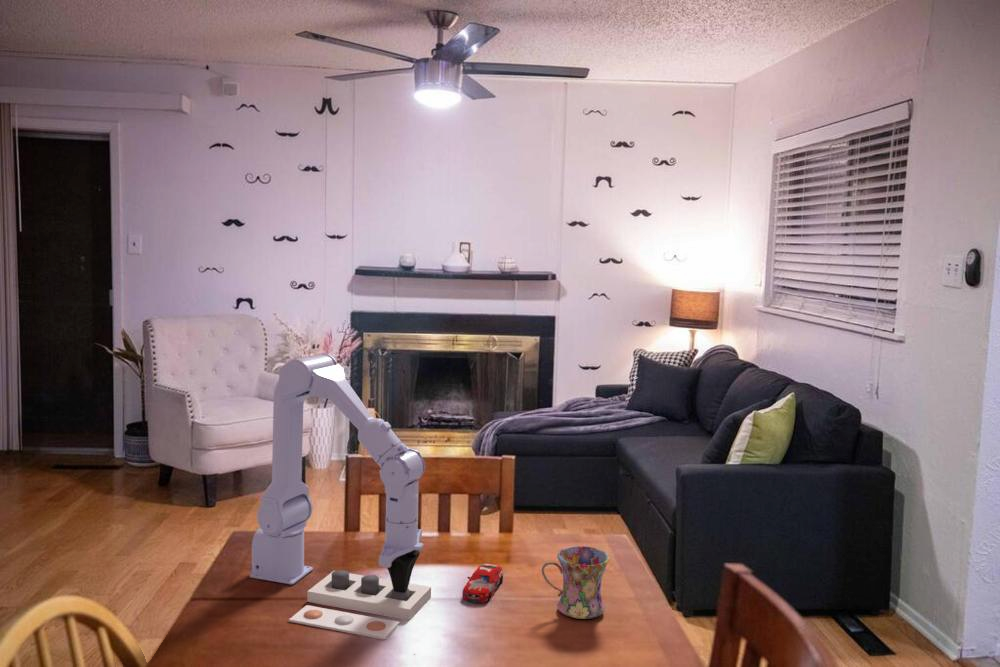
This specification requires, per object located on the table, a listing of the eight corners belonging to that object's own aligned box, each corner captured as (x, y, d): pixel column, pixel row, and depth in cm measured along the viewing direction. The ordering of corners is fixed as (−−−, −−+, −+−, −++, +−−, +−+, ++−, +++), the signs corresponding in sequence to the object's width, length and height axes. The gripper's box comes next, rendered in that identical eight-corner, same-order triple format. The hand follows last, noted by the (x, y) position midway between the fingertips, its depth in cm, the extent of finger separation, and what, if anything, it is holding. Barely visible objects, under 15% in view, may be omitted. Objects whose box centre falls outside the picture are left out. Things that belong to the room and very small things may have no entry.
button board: (307, 601, 160) (307, 591, 160) (333, 580, 170) (333, 570, 169) (409, 620, 154) (409, 609, 154) (430, 597, 164) (431, 586, 163)
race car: (486, 608, 161) (486, 587, 160) (458, 603, 162) (458, 582, 162) (507, 580, 173) (507, 560, 173) (481, 575, 175) (481, 556, 174)
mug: (602, 600, 165) (605, 546, 163) (610, 624, 155) (613, 566, 154) (537, 599, 164) (540, 545, 163) (542, 622, 155) (544, 565, 154)
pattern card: (288, 621, 152) (288, 618, 152) (306, 607, 158) (306, 603, 158) (384, 639, 147) (384, 636, 147) (399, 624, 153) (399, 620, 152)
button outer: (388, 605, 159) (388, 592, 159) (395, 598, 162) (395, 585, 162) (404, 608, 158) (404, 595, 158) (411, 601, 161) (411, 588, 161)
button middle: (358, 593, 161) (358, 580, 160) (365, 586, 164) (366, 574, 163) (374, 596, 160) (374, 583, 159) (381, 589, 163) (381, 576, 162)
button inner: (328, 588, 162) (328, 575, 162) (336, 581, 165) (336, 569, 165) (344, 591, 161) (344, 578, 161) (352, 584, 164) (352, 571, 164)
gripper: (406, 535, 150) (404, 611, 152) (437, 508, 164) (435, 578, 165) (368, 529, 152) (367, 604, 154) (402, 504, 166) (401, 573, 167)
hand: (400, 590), depth 160 cm, fingers closed, pressing on button outer
